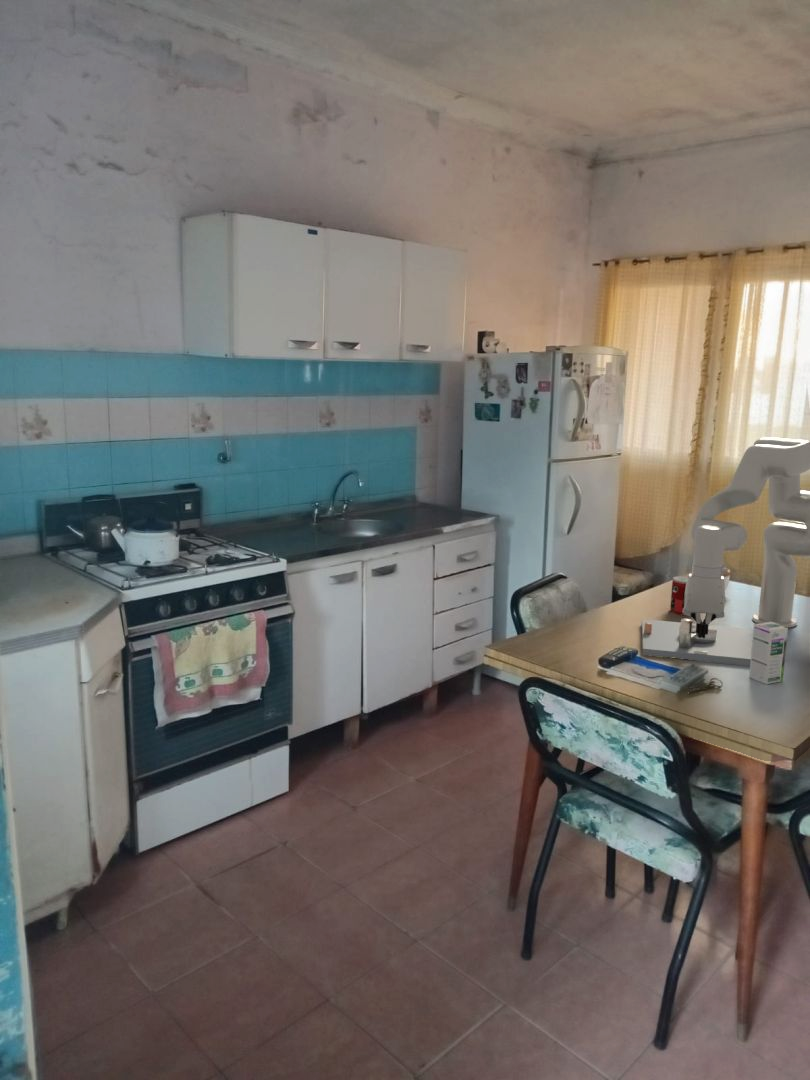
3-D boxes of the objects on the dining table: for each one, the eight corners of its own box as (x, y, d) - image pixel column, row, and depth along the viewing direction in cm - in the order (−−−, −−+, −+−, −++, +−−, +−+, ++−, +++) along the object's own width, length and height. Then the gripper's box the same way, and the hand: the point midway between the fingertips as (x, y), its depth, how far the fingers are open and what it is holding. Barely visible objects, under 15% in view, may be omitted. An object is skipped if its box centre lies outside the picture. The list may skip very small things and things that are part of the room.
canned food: (674, 606, 272) (677, 574, 269) (698, 611, 267) (701, 578, 265) (666, 612, 266) (669, 579, 263) (691, 616, 261) (694, 583, 259)
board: (641, 625, 252) (642, 609, 251) (746, 634, 244) (748, 618, 243) (642, 655, 225) (643, 638, 224) (760, 667, 218) (762, 649, 217)
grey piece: (686, 629, 241) (688, 605, 240) (721, 636, 235) (723, 611, 233) (664, 643, 228) (666, 617, 227) (700, 651, 222) (703, 625, 221)
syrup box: (766, 685, 205) (772, 629, 202) (747, 677, 211) (753, 622, 208) (783, 681, 208) (789, 627, 205) (764, 673, 213) (770, 620, 210)
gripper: (734, 569, 222) (728, 634, 226) (676, 566, 226) (671, 630, 230) (738, 576, 215) (732, 643, 219) (678, 573, 218) (673, 638, 222)
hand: (701, 636), depth 224 cm, fingers closed
